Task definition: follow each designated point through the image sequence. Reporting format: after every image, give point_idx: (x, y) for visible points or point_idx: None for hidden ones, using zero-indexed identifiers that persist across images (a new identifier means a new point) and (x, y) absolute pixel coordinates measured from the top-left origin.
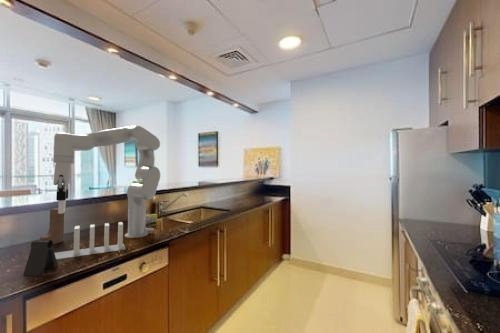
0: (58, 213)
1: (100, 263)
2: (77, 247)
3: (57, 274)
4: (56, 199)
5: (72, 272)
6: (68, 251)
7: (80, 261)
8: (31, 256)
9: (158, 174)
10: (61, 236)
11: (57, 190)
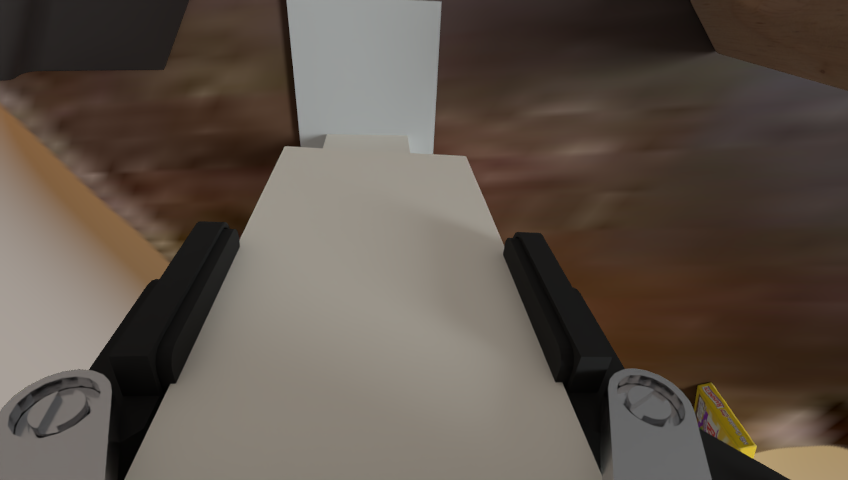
0: (283, 152)
1: (155, 249)
2: None
3: (35, 77)
4: (196, 228)
5: (51, 143)
6: (422, 103)
7: (220, 169)
8: None
9: None
10: (736, 47)
11: (15, 411)
